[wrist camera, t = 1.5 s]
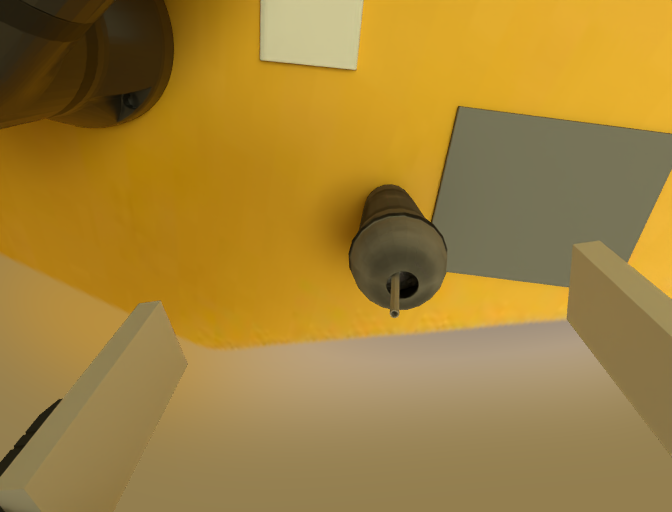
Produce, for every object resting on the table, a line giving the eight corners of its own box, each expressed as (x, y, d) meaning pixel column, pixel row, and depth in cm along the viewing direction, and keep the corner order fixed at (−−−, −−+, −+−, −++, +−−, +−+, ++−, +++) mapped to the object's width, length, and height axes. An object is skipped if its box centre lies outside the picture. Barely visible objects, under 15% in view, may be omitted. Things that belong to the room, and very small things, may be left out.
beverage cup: (389, 254, 44) (409, 396, 26) (335, 209, 42) (318, 329, 24) (441, 204, 41) (504, 323, 23) (387, 154, 39) (410, 242, 22)
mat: (421, 266, 44) (421, 268, 44) (458, 106, 37) (459, 106, 37) (610, 290, 45) (613, 292, 44) (683, 135, 37) (687, 136, 37)
